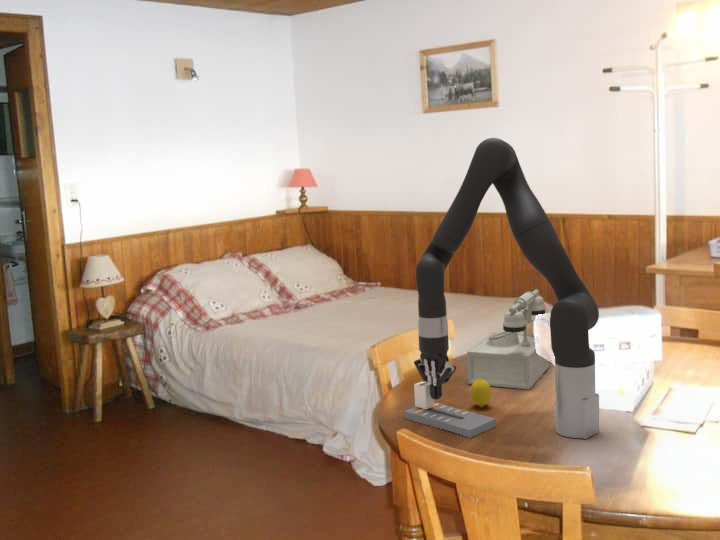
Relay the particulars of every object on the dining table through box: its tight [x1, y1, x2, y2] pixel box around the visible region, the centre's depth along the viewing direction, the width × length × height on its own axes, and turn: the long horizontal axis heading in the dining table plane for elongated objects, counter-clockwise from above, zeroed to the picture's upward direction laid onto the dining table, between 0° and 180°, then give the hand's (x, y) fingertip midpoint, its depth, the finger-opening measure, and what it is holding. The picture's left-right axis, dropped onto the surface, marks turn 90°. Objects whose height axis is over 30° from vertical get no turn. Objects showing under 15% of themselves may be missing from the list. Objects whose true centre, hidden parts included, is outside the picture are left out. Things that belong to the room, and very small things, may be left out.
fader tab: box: [413, 381, 435, 409], centre depth 214 cm, size 4×3×6 cm
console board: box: [404, 401, 497, 439], centre depth 209 cm, size 22×10×2 cm, turn 42°
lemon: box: [469, 378, 492, 408], centre depth 218 cm, size 6×6×8 cm
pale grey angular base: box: [466, 289, 551, 390], centre depth 244 cm, size 32×20×25 cm, turn 153°
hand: (436, 398), depth 211 cm, fingers closed
